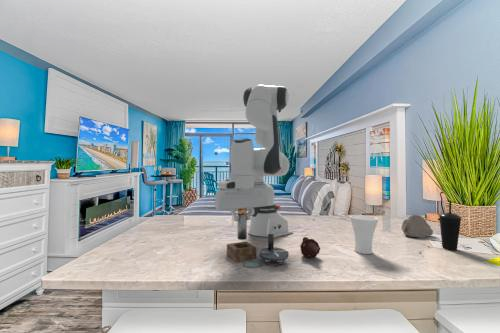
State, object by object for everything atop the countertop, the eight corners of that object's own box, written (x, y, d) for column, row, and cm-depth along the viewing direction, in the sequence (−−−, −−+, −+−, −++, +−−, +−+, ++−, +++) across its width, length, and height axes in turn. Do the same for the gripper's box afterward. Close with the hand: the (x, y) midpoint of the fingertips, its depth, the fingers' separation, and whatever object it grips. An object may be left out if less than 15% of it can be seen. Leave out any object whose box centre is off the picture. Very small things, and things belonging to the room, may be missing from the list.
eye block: (246, 251, 100) (246, 241, 100) (256, 258, 93) (256, 247, 93) (226, 254, 97) (226, 244, 97) (235, 262, 90) (235, 250, 90)
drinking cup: (458, 247, 110) (458, 200, 110) (464, 252, 103) (464, 202, 103) (436, 245, 113) (437, 198, 113) (440, 250, 106) (441, 201, 106)
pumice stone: (409, 238, 123) (409, 217, 123) (397, 234, 131) (398, 214, 131) (437, 237, 125) (437, 217, 125) (425, 233, 133) (425, 214, 133)
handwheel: (292, 259, 86) (293, 241, 86) (263, 261, 84) (263, 242, 84) (282, 250, 96) (283, 233, 96) (256, 251, 94) (256, 234, 94)
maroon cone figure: (329, 245, 89) (314, 237, 104) (309, 240, 88) (296, 232, 103) (325, 265, 88) (310, 254, 103) (304, 260, 88) (292, 250, 102)
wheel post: (276, 257, 94) (276, 253, 94) (286, 263, 89) (286, 259, 89) (261, 260, 92) (262, 256, 92) (271, 266, 86) (271, 262, 86)
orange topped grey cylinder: (244, 236, 98) (244, 207, 98) (248, 239, 95) (248, 208, 95) (235, 237, 96) (236, 208, 96) (239, 240, 93) (239, 209, 93)
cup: (355, 245, 110) (356, 213, 110) (382, 251, 103) (382, 217, 103) (344, 251, 103) (345, 217, 103) (372, 258, 95) (372, 221, 95)
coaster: (255, 260, 91) (255, 259, 91) (263, 266, 86) (263, 264, 86) (241, 263, 89) (241, 261, 89) (248, 268, 84) (248, 267, 84)
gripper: (262, 181, 103) (262, 215, 103) (213, 183, 93) (213, 221, 94) (271, 182, 97) (270, 219, 98) (219, 184, 88) (219, 225, 88)
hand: (242, 220), depth 96 cm, fingers closed on orange topped grey cylinder, 3 cm apart
